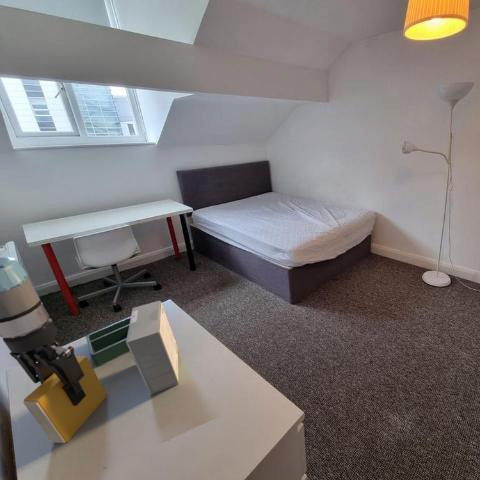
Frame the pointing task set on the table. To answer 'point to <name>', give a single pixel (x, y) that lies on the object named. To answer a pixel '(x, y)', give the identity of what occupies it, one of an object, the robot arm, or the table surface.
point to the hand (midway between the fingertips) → (72, 399)
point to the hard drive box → (153, 347)
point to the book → (65, 404)
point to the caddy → (109, 342)
